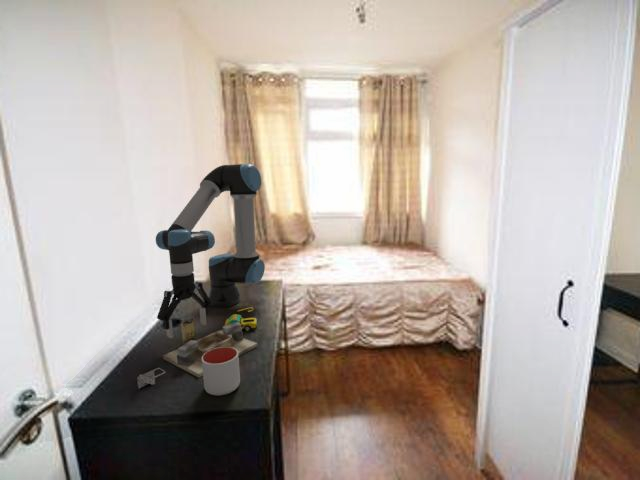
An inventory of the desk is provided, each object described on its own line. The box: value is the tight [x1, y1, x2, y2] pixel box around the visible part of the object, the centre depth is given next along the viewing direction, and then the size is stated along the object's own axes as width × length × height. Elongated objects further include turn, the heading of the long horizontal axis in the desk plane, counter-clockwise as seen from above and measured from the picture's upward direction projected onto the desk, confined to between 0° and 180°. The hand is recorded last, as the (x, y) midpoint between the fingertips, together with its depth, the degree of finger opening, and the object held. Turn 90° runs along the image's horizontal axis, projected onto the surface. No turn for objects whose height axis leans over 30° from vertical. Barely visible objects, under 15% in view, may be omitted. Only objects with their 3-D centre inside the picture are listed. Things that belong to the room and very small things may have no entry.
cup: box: [202, 347, 241, 397], centre depth 102 cm, size 10×10×10 cm
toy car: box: [224, 306, 258, 332], centre depth 141 cm, size 12×8×8 cm, turn 97°
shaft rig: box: [162, 322, 258, 378], centre depth 123 cm, size 25×20×7 cm
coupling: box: [180, 317, 197, 346], centre depth 130 cm, size 4×4×9 cm
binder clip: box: [136, 367, 166, 389], centre depth 104 cm, size 6×4×6 cm, turn 141°
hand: (187, 330), depth 130 cm, fingers open, 13 cm apart
